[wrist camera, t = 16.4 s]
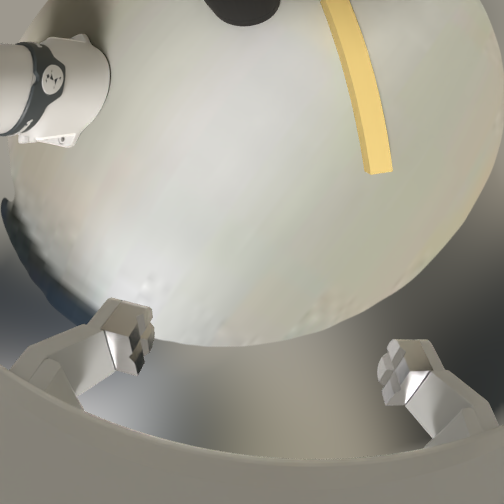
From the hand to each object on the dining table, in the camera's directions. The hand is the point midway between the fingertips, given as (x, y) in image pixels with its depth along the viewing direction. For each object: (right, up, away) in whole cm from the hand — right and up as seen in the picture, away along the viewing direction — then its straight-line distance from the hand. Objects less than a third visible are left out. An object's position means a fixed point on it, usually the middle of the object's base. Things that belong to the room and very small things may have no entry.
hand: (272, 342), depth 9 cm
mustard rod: (+12, +24, +20) cm, 34 cm away
